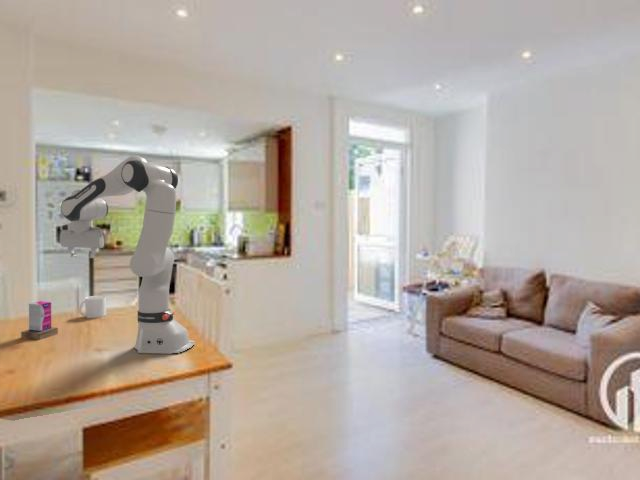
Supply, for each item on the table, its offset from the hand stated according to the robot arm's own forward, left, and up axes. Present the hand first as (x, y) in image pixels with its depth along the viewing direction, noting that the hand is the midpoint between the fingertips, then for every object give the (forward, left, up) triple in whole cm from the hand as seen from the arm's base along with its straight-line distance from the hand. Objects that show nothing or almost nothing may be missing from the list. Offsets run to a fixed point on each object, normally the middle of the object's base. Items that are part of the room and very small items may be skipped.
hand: (82, 257), depth 194 cm
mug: (+8, -15, -31) cm, 36 cm away
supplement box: (+6, +18, -29) cm, 34 cm away
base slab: (+6, +18, -31) cm, 36 cm away
